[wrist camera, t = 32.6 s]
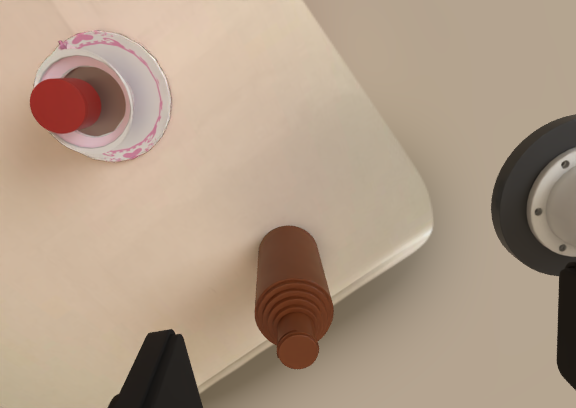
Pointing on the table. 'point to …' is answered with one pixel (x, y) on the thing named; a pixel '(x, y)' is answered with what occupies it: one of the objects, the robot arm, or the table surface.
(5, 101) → the table surface
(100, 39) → the teacup
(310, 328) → the bottle
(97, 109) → the cap
